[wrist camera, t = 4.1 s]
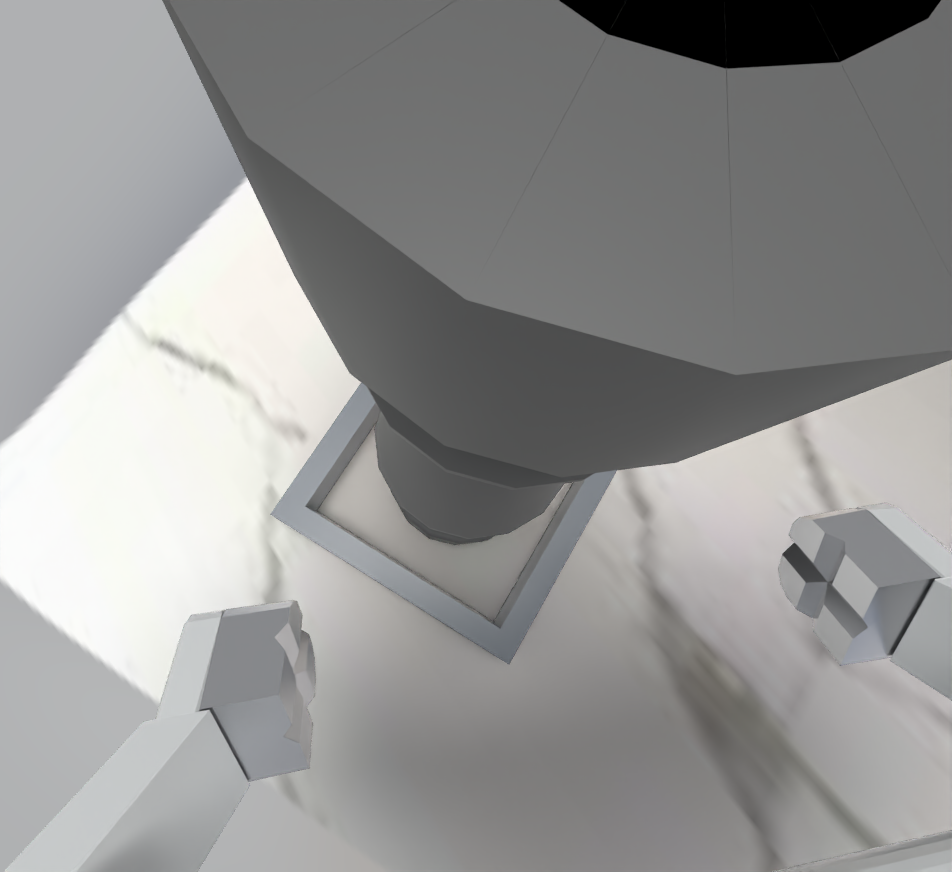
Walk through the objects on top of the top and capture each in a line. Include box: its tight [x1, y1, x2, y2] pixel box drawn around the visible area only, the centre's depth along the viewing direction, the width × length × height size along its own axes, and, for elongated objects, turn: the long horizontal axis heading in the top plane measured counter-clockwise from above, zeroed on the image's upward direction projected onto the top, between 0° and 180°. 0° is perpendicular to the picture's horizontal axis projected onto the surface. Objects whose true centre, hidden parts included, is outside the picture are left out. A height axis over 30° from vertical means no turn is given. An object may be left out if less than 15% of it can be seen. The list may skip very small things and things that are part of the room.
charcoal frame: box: [270, 382, 617, 664], centre depth 26 cm, size 11×11×2 cm
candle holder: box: [162, 0, 952, 545], centre depth 15 cm, size 6×6×25 cm
